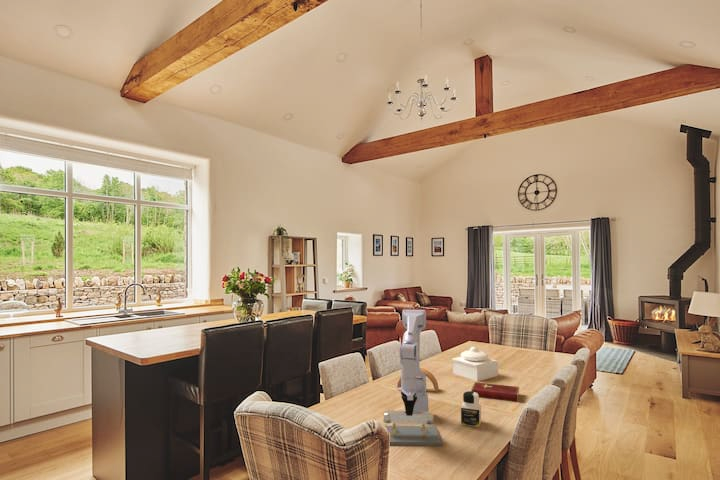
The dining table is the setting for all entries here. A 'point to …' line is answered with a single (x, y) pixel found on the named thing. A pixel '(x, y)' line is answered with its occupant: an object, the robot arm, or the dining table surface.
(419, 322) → the robot arm
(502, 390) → the hardcover book
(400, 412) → the spanner bar
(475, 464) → the dining table surface
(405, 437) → the tool rest
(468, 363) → the butter dish
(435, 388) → the arch
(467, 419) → the medicine bottle
